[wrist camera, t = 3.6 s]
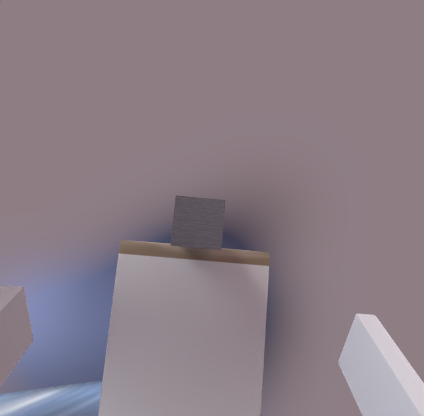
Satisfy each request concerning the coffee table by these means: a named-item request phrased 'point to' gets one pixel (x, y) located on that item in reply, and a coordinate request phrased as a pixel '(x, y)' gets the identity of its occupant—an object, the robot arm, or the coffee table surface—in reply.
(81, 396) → the coffee table surface
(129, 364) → the pedestal
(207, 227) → the metal bar
